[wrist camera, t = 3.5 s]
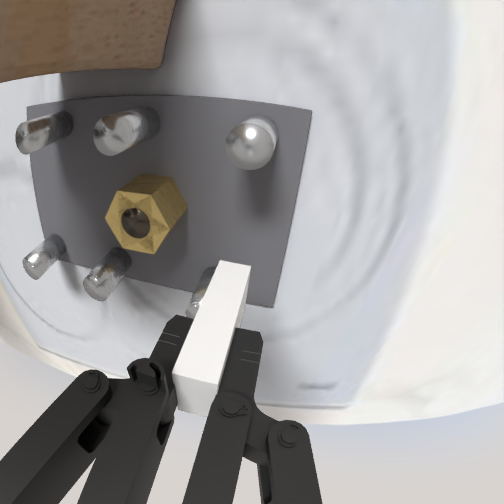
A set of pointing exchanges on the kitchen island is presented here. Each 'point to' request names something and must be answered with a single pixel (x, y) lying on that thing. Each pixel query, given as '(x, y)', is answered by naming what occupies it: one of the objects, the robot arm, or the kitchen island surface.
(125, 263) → the set of silver pegs
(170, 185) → the nut
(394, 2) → the kitchen island surface
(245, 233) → the grey flat plate
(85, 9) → the wooden block
